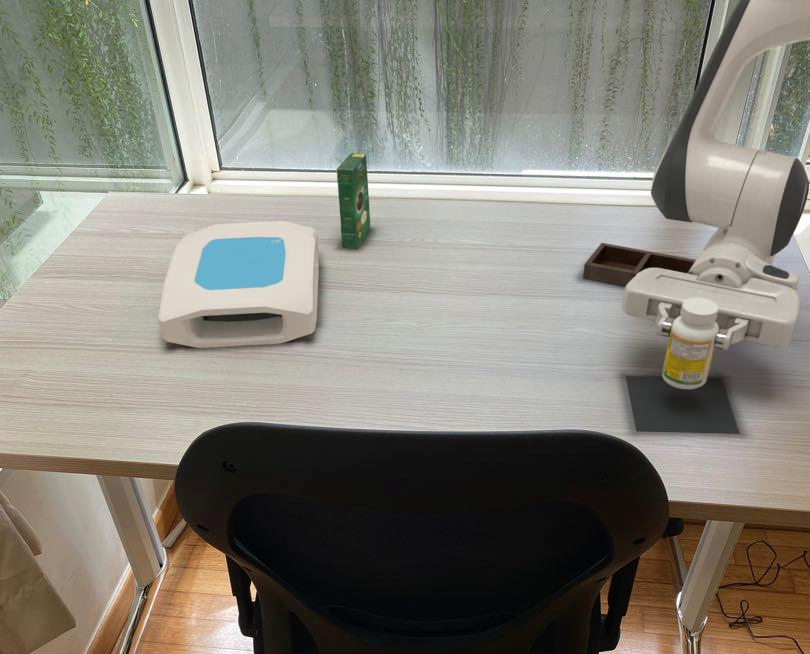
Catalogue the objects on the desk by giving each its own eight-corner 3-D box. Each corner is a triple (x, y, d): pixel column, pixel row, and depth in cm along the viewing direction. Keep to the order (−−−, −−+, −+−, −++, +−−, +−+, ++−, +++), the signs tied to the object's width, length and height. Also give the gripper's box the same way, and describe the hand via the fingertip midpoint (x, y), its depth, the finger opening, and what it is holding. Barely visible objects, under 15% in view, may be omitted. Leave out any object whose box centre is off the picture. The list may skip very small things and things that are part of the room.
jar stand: (697, 277, 133) (700, 260, 131) (683, 301, 128) (686, 283, 126) (599, 259, 138) (601, 242, 136) (582, 281, 133) (584, 263, 131)
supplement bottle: (688, 396, 103) (705, 322, 96) (651, 377, 106) (666, 305, 99) (715, 379, 105) (734, 306, 99) (679, 361, 108) (695, 289, 102)
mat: (720, 380, 112) (721, 377, 112) (738, 436, 103) (739, 432, 103) (625, 379, 113) (625, 375, 113) (635, 434, 104) (636, 430, 104)
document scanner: (164, 352, 121) (154, 311, 117) (189, 262, 142) (182, 224, 138) (316, 343, 122) (311, 302, 117) (319, 255, 142) (315, 217, 138)
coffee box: (355, 230, 149) (350, 150, 140) (371, 231, 149) (367, 151, 140) (341, 250, 143) (334, 168, 135) (357, 251, 143) (352, 170, 134)
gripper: (644, 246, 111) (609, 293, 102) (812, 278, 104) (790, 331, 95) (636, 292, 115) (602, 341, 107) (797, 325, 108) (775, 381, 99)
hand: (692, 337), depth 101 cm, fingers closed on supplement bottle, 5 cm apart
